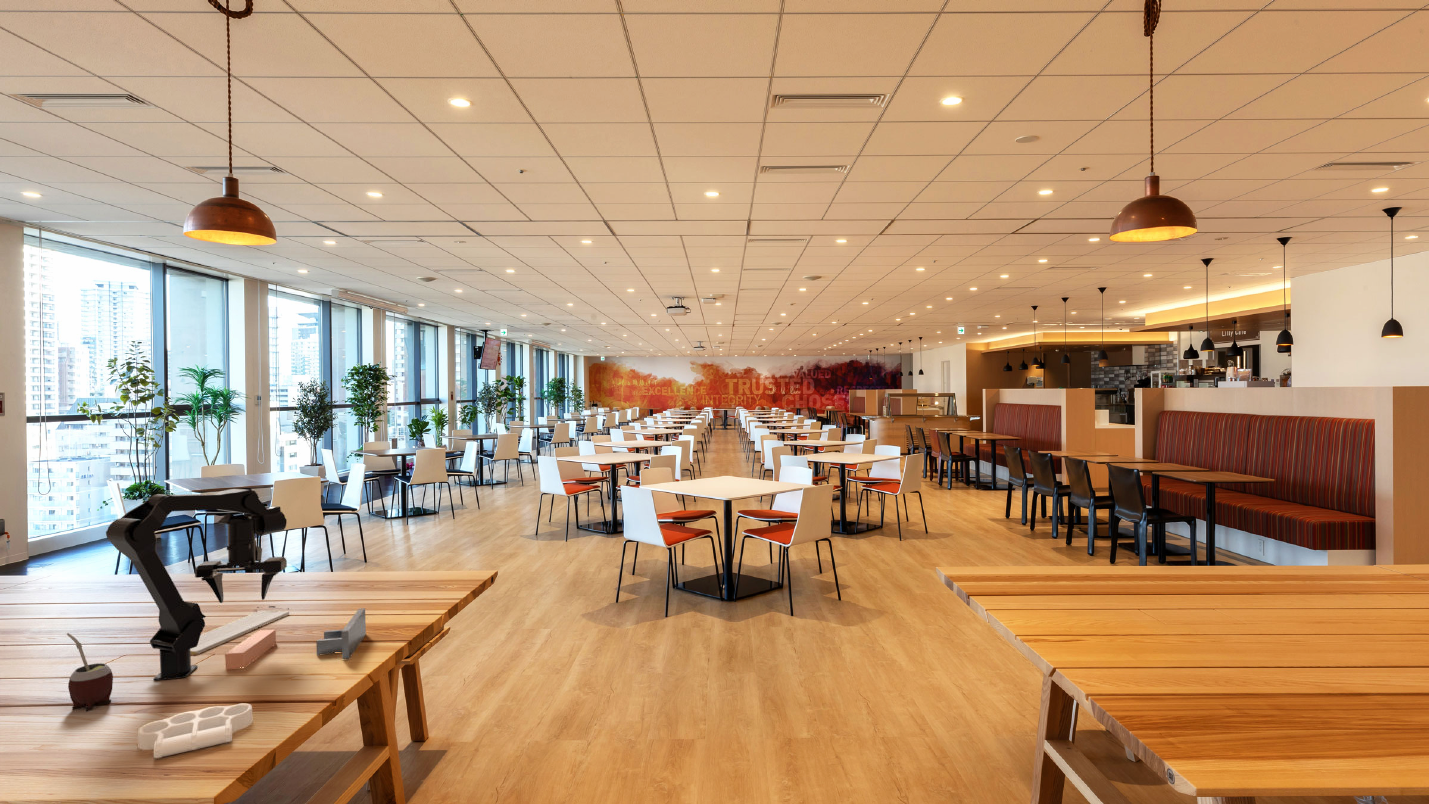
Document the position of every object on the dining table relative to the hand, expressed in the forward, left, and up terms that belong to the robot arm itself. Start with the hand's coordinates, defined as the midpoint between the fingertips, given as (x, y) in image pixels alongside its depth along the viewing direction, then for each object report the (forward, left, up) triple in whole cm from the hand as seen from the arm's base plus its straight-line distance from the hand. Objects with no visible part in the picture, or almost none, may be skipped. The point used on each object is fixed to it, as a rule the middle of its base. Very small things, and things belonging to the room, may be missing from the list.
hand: (242, 600), depth 184 cm
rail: (-5, -4, -13) cm, 14 cm away
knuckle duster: (-48, -9, -13) cm, 51 cm away
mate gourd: (-27, +19, -13) cm, 36 cm away
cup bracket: (-5, -23, -12) cm, 27 cm away
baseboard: (+16, +9, -13) cm, 23 cm away
